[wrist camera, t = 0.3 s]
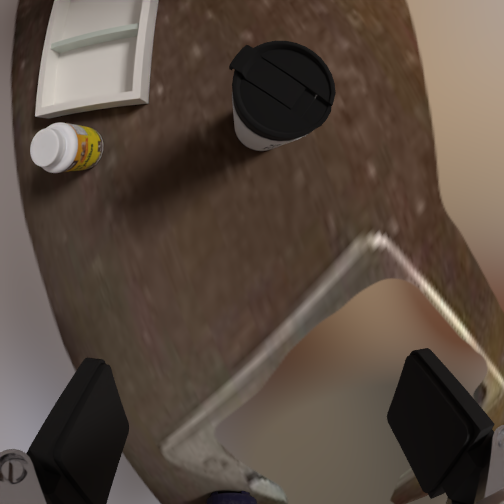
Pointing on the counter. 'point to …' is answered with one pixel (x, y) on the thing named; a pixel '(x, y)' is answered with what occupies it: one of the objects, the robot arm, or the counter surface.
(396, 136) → the counter surface
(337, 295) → the counter surface
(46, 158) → the supplement bottle
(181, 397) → the counter surface
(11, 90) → the counter surface
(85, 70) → the bay tray
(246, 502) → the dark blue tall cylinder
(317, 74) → the travel mug
